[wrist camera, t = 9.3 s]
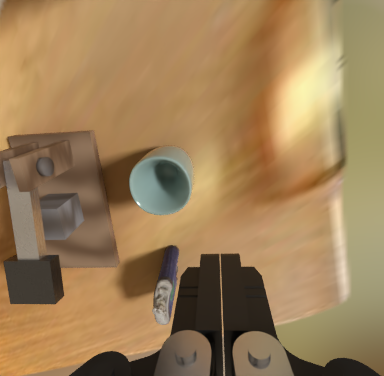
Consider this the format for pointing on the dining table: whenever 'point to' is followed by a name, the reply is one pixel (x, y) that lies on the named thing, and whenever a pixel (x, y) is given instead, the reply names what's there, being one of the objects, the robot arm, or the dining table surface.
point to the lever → (30, 250)
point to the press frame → (66, 195)
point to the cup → (162, 180)
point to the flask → (166, 286)
